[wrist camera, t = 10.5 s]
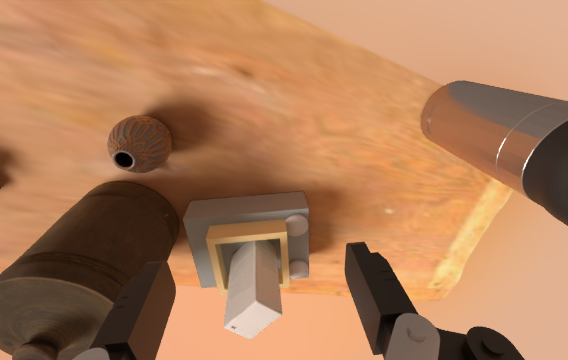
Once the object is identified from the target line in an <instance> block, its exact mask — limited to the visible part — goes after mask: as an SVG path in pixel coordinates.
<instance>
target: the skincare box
mask: <svg viewBox="0 0 568 360" xmlns="http://www.w3.org/2000/svg"><path fill="white" fill-rule="evenodd" d="M281 315H282V306H281V297H280V286H279V276H278V266H277V256H276V247H275V245H274V244H272V243H270V242H269V241H267V240H256V241H247V242H246V243H245V244H244V245H243V246H242V247H241V248H240V249H239V250H237V251H236V252H235V253H234V254H233V255H232V256H231V265H230V274H229V283H228V292H227V302H226V311H225V319H224V328H225V329H227V330H230V331H232V332H234V333H236V334H238V335H241V336H243V337H245V338H248V339H252V338H253V337H255V336H256V335H257V334H258V333H260V332H261V331H262V330H263V329H265V328H266V327H267V326H268V325H270V324H271V323H272V322H273V321H275V320H276V319H277V318H278V317H280V316H281Z"/></svg>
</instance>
